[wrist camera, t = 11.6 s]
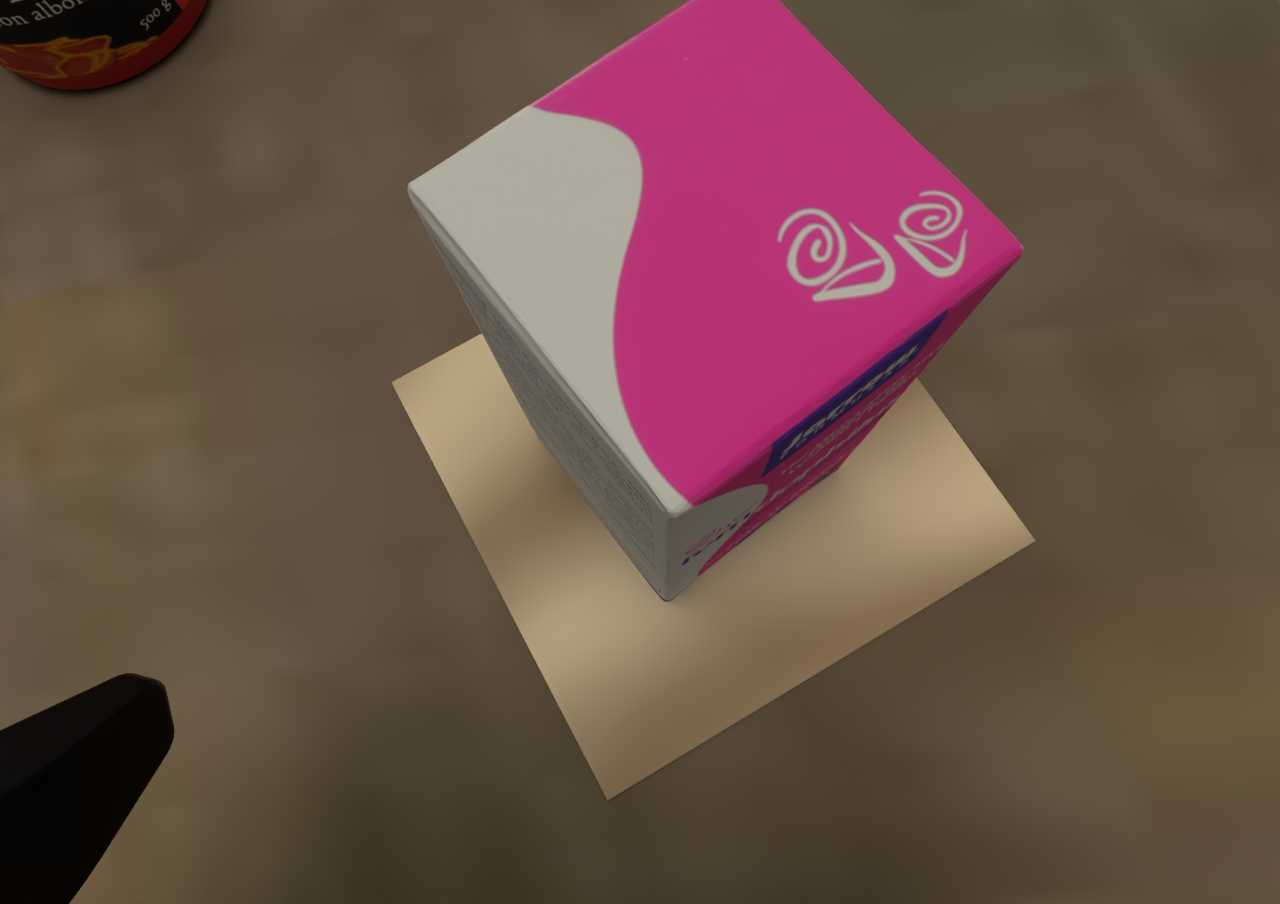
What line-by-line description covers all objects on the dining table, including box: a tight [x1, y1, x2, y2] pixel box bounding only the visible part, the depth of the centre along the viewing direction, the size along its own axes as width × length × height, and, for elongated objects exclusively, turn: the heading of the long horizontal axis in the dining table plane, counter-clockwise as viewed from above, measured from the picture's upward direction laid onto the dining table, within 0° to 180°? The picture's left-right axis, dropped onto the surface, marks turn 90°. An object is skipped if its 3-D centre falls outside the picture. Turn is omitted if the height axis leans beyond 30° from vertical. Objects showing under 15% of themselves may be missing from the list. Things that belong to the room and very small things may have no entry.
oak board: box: [392, 334, 1035, 800], centre depth 22 cm, size 12×12×1 cm
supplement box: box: [408, 0, 1023, 602], centre depth 16 cm, size 6×6×12 cm
